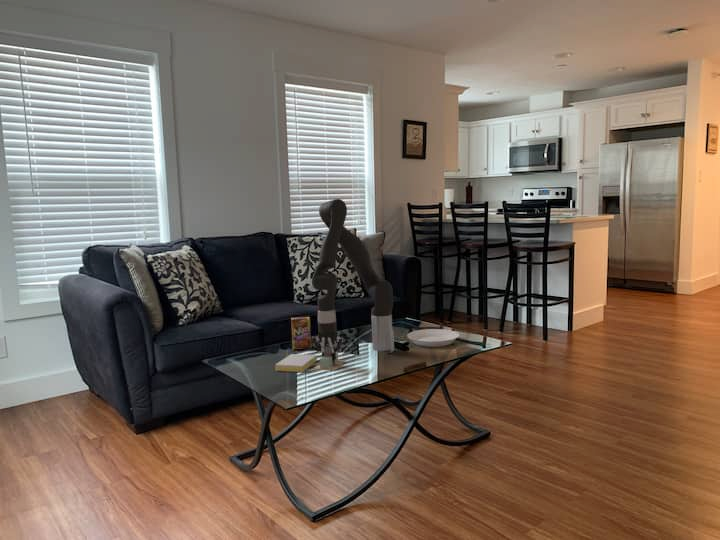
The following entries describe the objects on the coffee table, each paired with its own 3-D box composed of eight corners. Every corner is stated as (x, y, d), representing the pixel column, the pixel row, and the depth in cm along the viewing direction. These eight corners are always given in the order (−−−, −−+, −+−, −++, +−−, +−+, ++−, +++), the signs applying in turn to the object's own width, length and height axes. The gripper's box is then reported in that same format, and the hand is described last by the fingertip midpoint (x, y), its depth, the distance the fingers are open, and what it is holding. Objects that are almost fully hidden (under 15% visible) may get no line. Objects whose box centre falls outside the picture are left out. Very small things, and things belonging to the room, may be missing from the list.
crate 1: (323, 365, 232) (322, 356, 232) (332, 365, 231) (332, 356, 231) (320, 368, 228) (319, 358, 228) (329, 368, 227) (328, 359, 227)
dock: (317, 364, 240) (317, 355, 240) (303, 375, 225) (302, 365, 224) (291, 363, 244) (290, 354, 243) (275, 374, 228) (275, 364, 228)
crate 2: (329, 360, 239) (328, 351, 238) (338, 361, 238) (337, 351, 237) (326, 363, 235) (325, 354, 235) (335, 363, 234) (334, 354, 233)
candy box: (292, 350, 264) (290, 319, 262) (292, 348, 268) (290, 317, 266) (311, 349, 265) (309, 317, 263) (311, 347, 269) (309, 316, 268)
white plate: (402, 348, 260) (402, 340, 260) (413, 335, 284) (412, 328, 284) (456, 349, 253) (455, 342, 253) (462, 336, 277) (462, 329, 276)
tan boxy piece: (324, 364, 241) (322, 341, 240) (346, 364, 239) (344, 342, 237) (312, 373, 228) (311, 350, 227) (335, 374, 225) (334, 350, 224)
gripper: (345, 318, 232) (347, 359, 234) (314, 318, 236) (316, 357, 238) (340, 322, 225) (342, 364, 227) (307, 322, 229) (310, 362, 231)
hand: (329, 360), depth 233 cm, fingers closed on tan boxy piece, 3 cm apart
